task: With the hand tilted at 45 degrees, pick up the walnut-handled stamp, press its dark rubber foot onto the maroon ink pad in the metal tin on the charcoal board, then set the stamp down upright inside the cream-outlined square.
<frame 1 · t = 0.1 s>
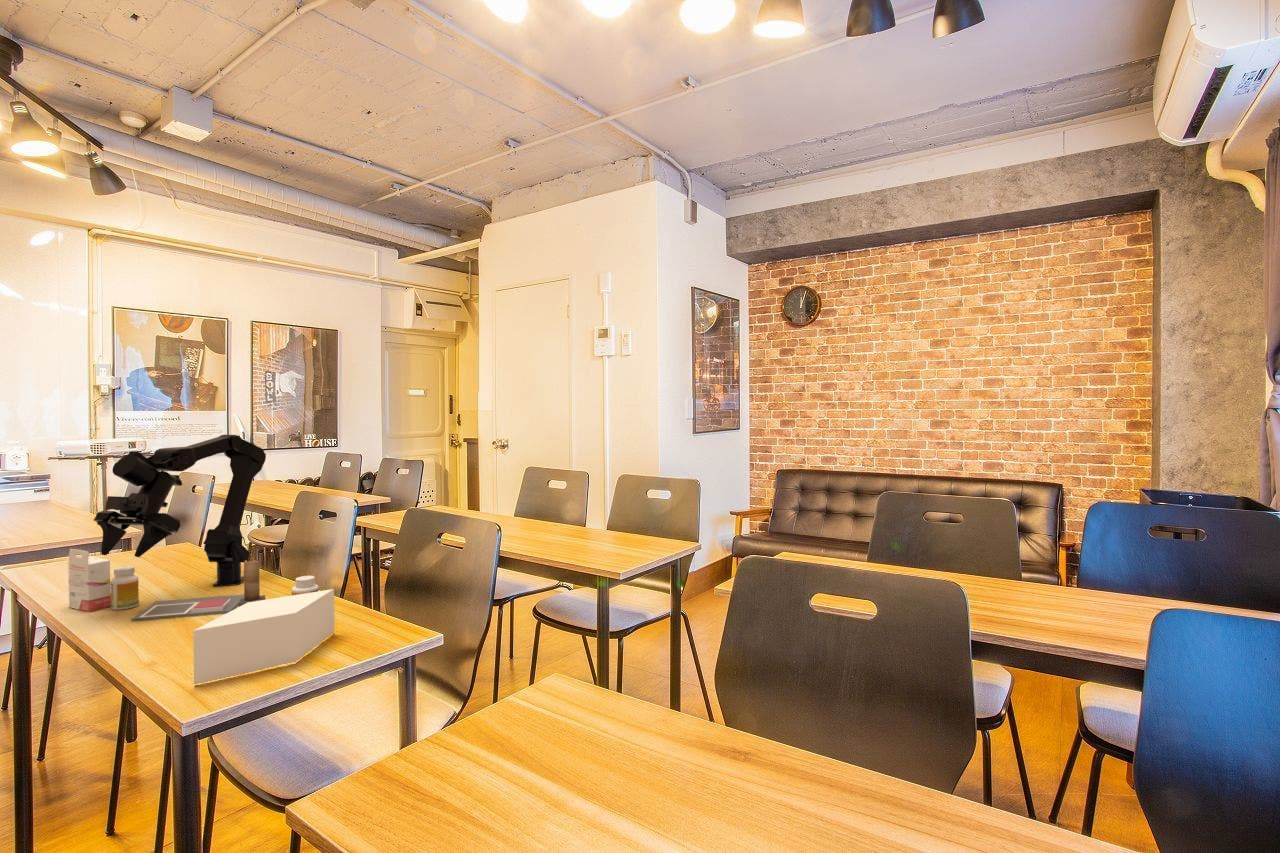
hand: (119, 555, 147), 15 cm above the table, tool tilted 35°, fingers open, 9 cm apart
stamp board: (192, 608, 156), on the table
stamp: (252, 609, 156), on the table
supplement bottle 2: (305, 622, 147), on the table
supplement bottle: (125, 607, 157), on the table
ink cartridge box: (90, 608, 156), on the table
cream slanted prism: (271, 659, 126), on the table
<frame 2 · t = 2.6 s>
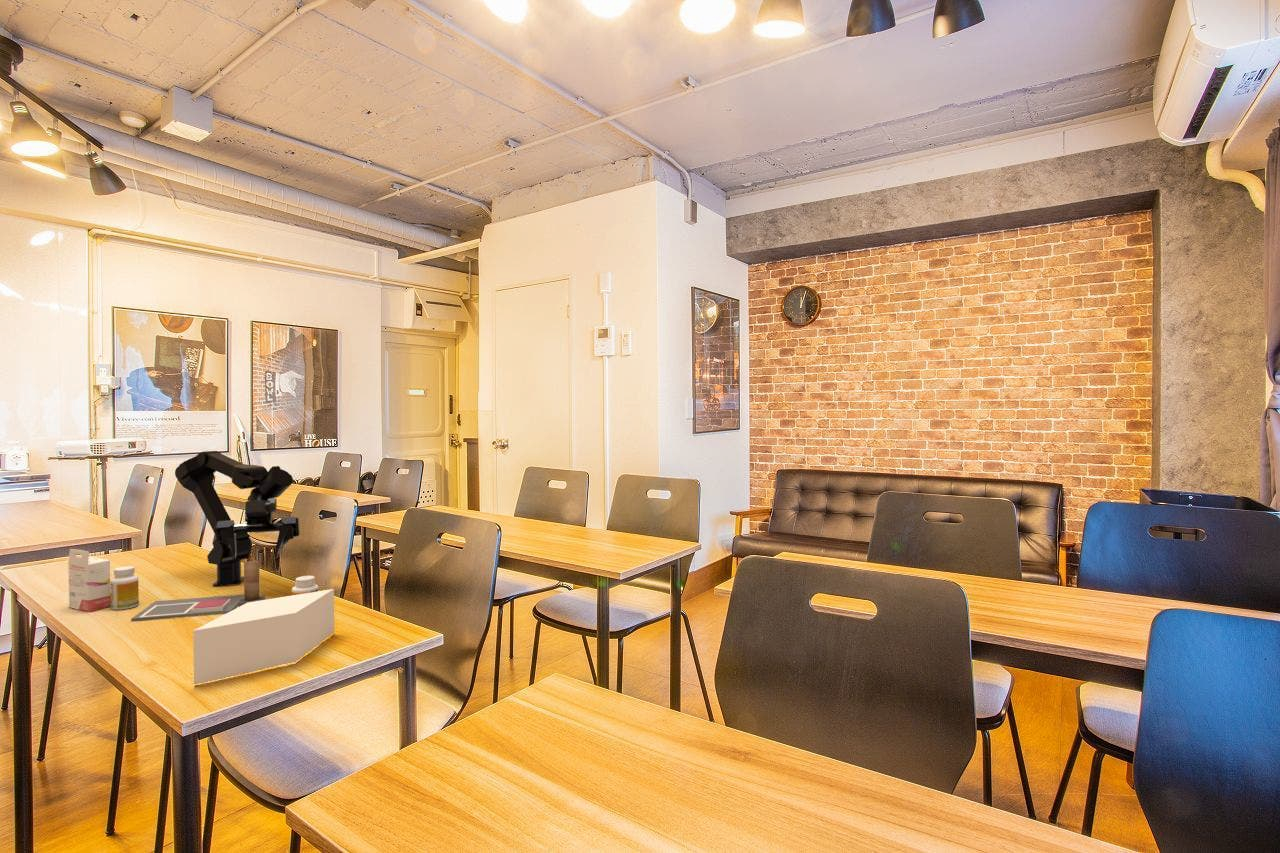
hand: (255, 556, 161), 12 cm above the table, tool tilted 45°, fingers open, 9 cm apart
nothing on the table moved.
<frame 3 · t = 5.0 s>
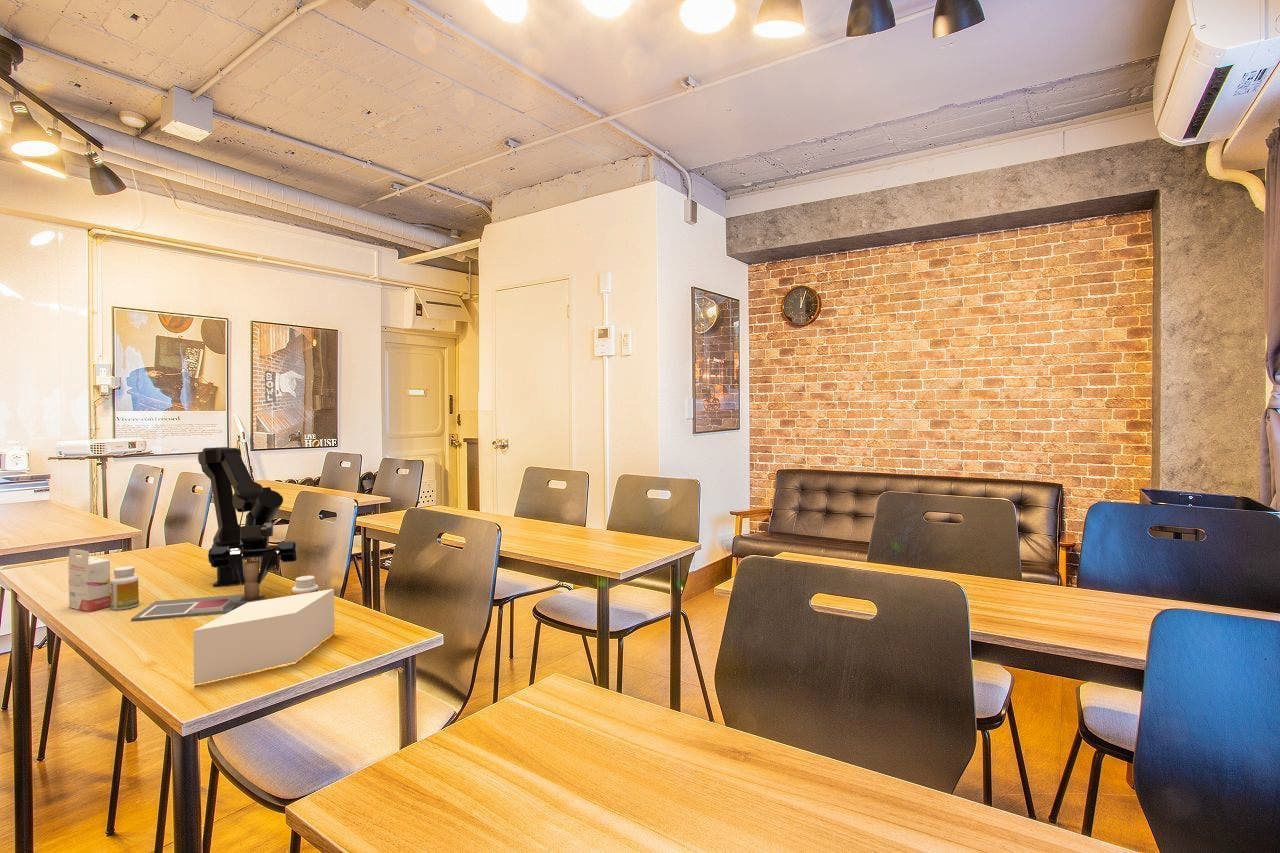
hand: (250, 583, 154), 7 cm above the table, tool tilted 45°, fingers closed on stamp, 3 cm apart
stamp: (252, 608, 156), on the table, touching gripper
everything else where it was.
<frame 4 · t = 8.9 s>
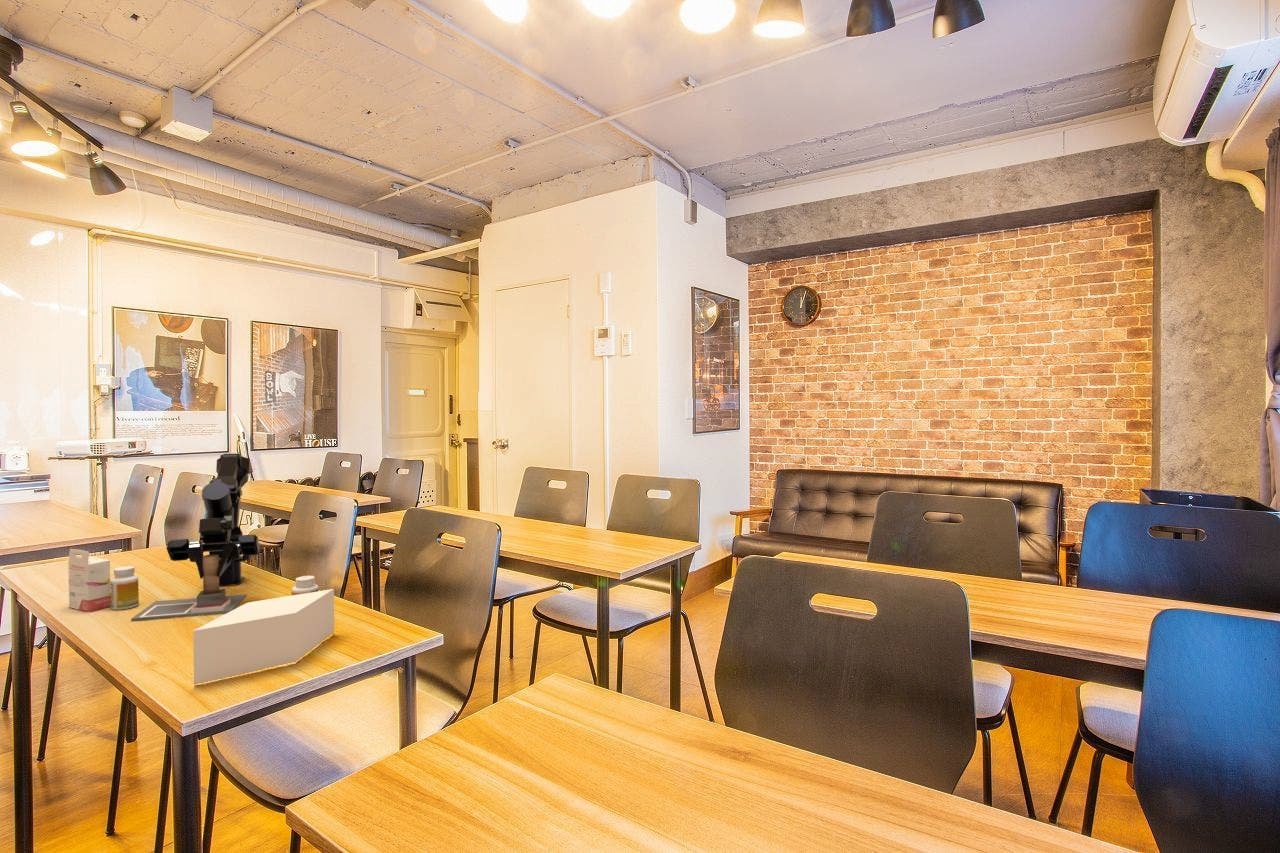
hand: (209, 577, 153), 9 cm above the table, tool tilted 45°, fingers closed on stamp, 3 cm apart
stamp: (211, 602, 154), point 2 cm above the table, touching gripper
everything else where it was.
when the fingers open (8 cm above the table, at t = 13.3 s): stamp stays where it is, resting on stamp board.
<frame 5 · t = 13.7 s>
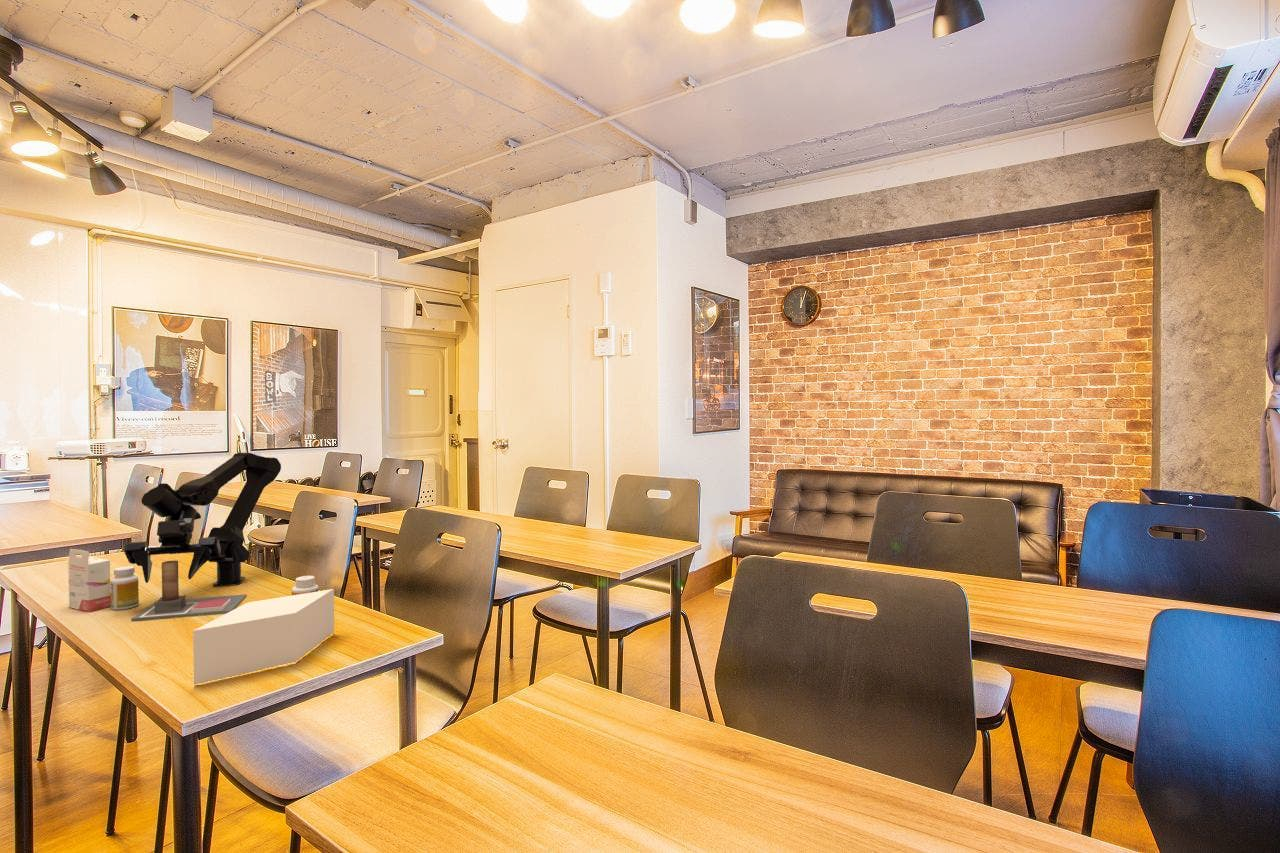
hand: (168, 580, 151), 8 cm above the table, tool tilted 45°, fingers open, 8 cm apart
stamp: (170, 609, 153), point 1 cm above the table, touching stamp board
everything else where it was.
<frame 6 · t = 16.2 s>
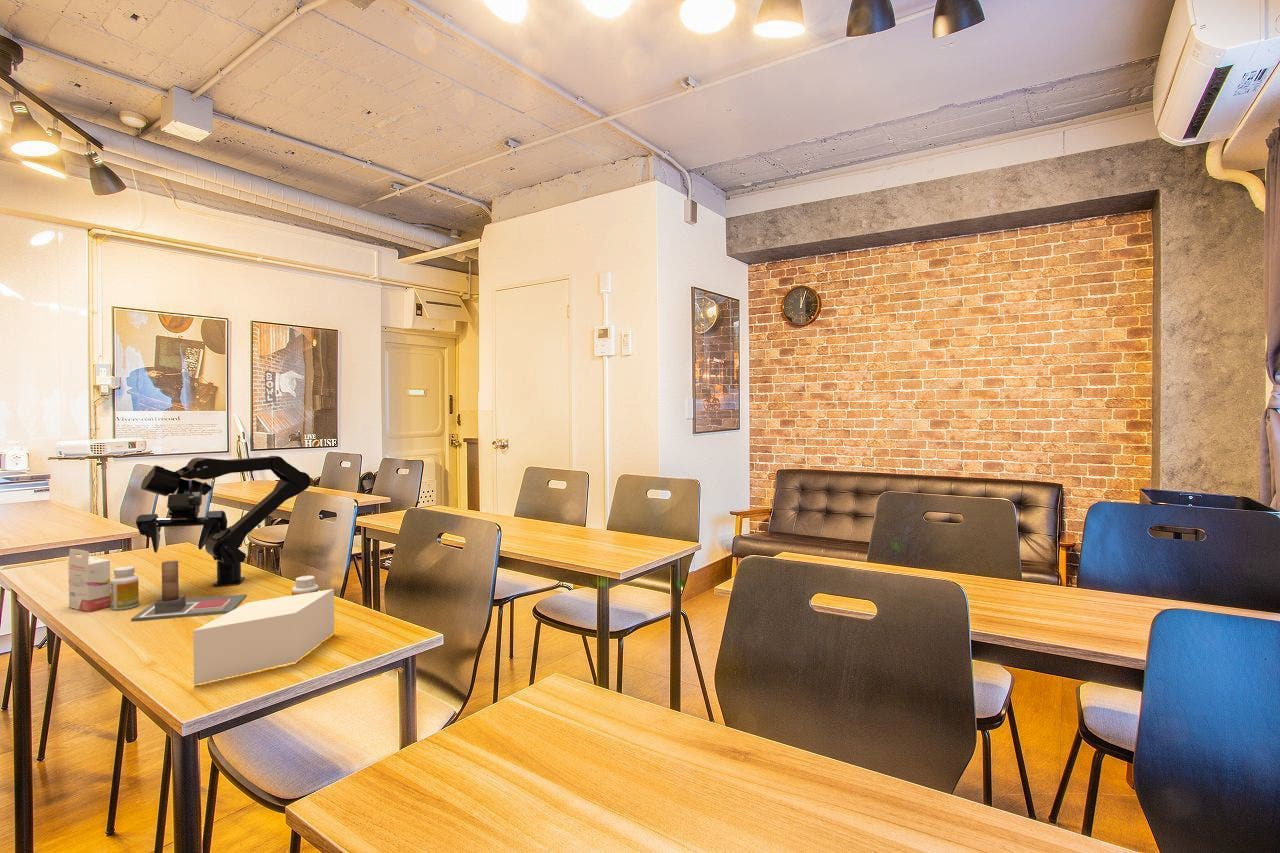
hand: (177, 550, 159), 14 cm above the table, tool tilted 45°, fingers open, 9 cm apart
nothing on the table moved.
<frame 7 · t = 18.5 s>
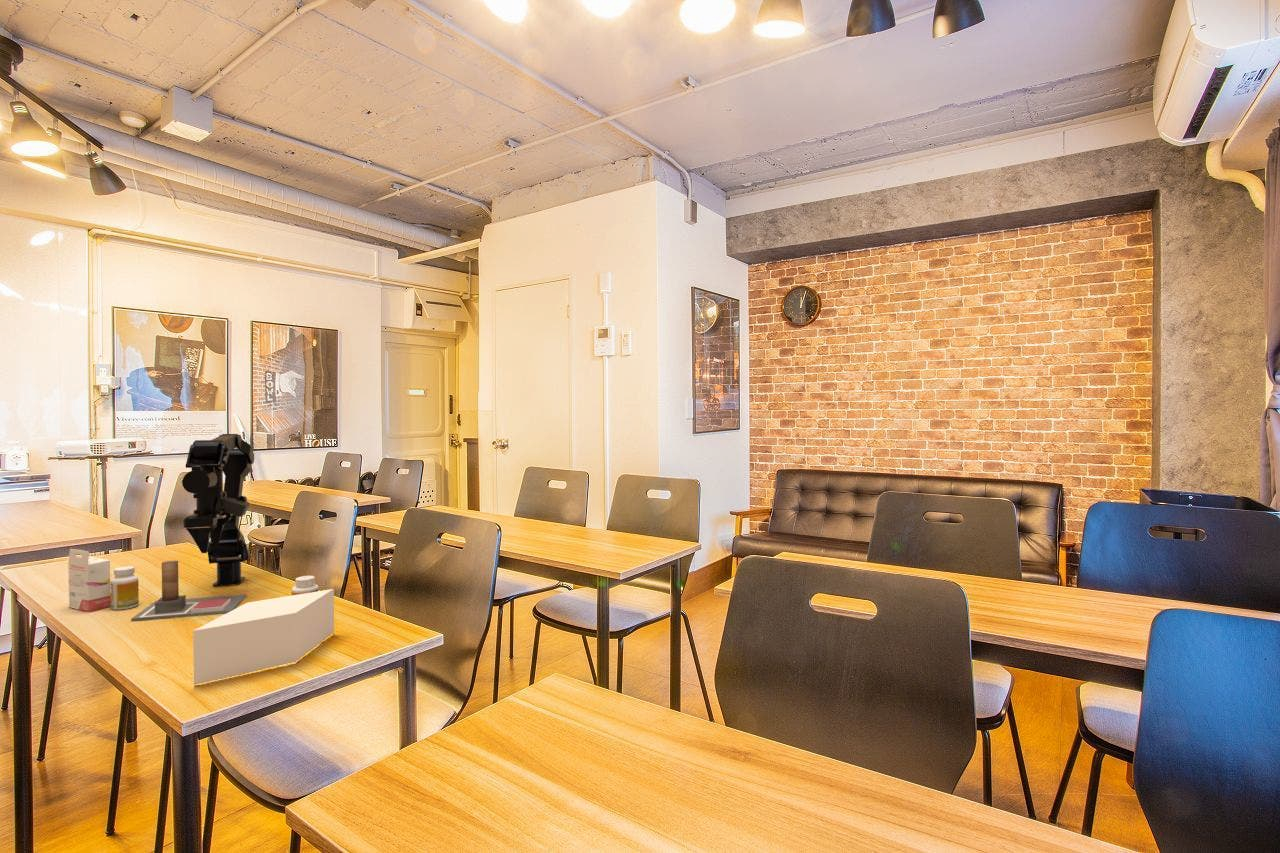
hand: (210, 549, 163), 13 cm above the table, tool pointing down, fingers open, 9 cm apart
nothing on the table moved.
at the end: stamp 0.3 cm from the target spot on the stamp board, point 0.6 cm above the stamp board's base; stamp tilted 0°; the gripper is holding nothing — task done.
